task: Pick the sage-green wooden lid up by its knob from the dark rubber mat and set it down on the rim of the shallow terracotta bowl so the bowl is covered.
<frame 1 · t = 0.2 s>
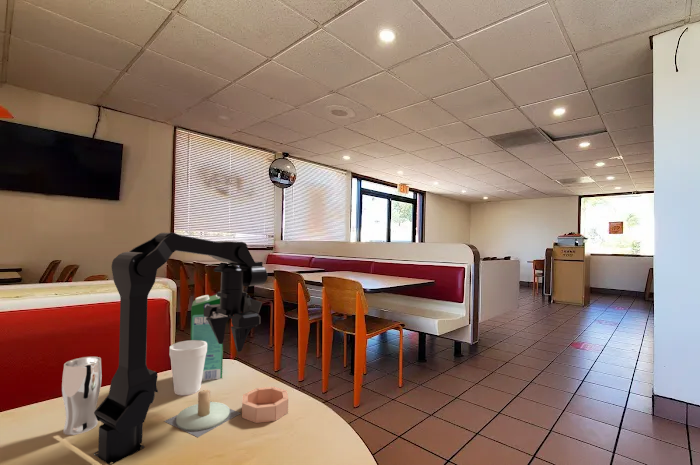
hand: (229, 347, 92), 14 cm above the table, fingers open, 9 cm apart
lid: (203, 417, 82), point 1 cm above the table, touching mat
mat: (203, 419, 82), on the table
foam cup: (187, 392, 96), on the table
milk carton: (206, 376, 107), on the table
beer glass: (80, 430, 77), on the table
bowl: (265, 412, 86), on the table
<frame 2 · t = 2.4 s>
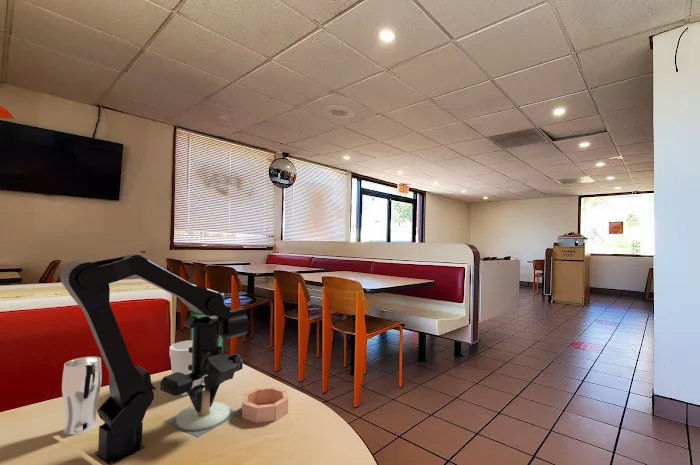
hand: (203, 409, 82), 2 cm above the table, fingers closed on lid, 3 cm apart
lid: (203, 417, 82), point 1 cm above the table, touching gripper, mat
everything else where it was.
when the fingers open (7 cm above the table, at t = 5.4 s): lid stays where it is, resting on bowl.
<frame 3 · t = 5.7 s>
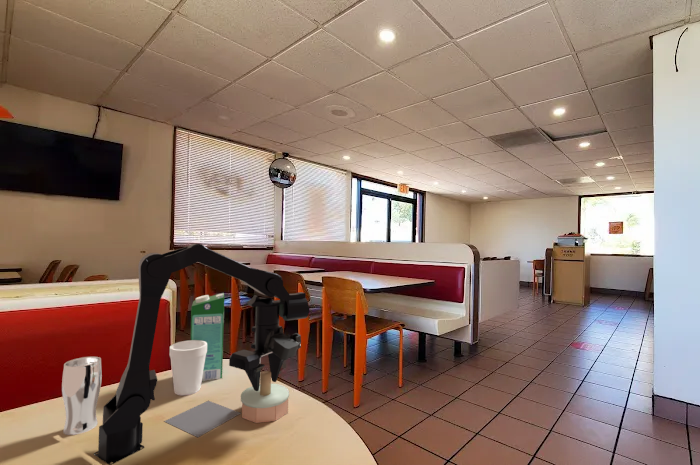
hand: (265, 386, 86), 7 cm above the table, fingers open, 6 cm apart
lid: (265, 396, 86), point 4 cm above the table, touching bowl
everything else where it was.
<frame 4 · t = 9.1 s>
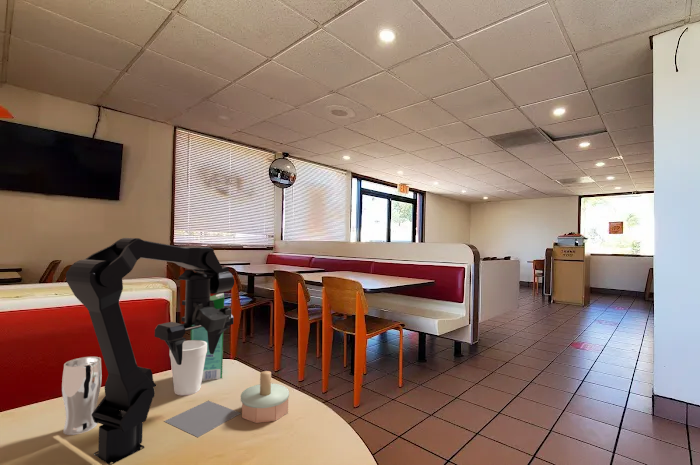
hand: (196, 358, 87), 13 cm above the table, fingers open, 9 cm apart
nothing on the table moved.
at the end: lid 0.1 cm off-centre on the bowl, point 4.0 cm above the bowl's base; lid tilted 0°; the gripper is holding nothing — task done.
